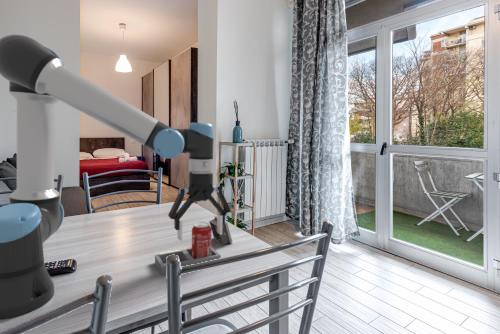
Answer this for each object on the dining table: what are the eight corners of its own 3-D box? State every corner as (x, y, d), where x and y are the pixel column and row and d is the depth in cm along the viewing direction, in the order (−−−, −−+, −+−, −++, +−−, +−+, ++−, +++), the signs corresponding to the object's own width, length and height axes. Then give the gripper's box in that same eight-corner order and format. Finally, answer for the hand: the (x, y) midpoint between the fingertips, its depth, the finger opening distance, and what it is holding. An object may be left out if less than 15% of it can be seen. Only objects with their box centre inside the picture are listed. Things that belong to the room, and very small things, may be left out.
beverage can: (202, 254, 107) (202, 220, 105) (215, 259, 103) (215, 224, 101) (187, 260, 102) (187, 224, 100) (201, 265, 98) (200, 228, 96)
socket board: (161, 274, 91) (161, 265, 91) (155, 262, 100) (154, 253, 99) (220, 262, 100) (220, 254, 100) (210, 252, 109) (209, 244, 108)
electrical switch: (233, 243, 117) (231, 220, 115) (220, 247, 114) (218, 223, 112) (221, 236, 125) (219, 214, 123) (210, 239, 122) (207, 217, 120)
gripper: (164, 175, 89) (164, 246, 92) (241, 171, 101) (239, 234, 104) (158, 171, 96) (158, 237, 98) (231, 168, 108) (230, 227, 110)
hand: (200, 236), depth 101 cm, fingers open, 13 cm apart
